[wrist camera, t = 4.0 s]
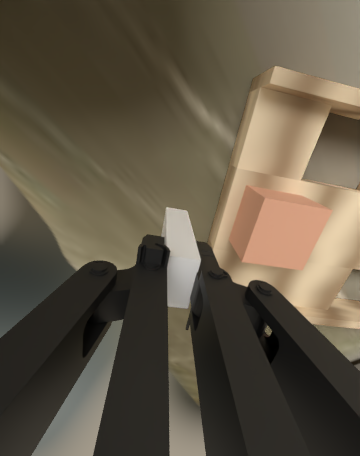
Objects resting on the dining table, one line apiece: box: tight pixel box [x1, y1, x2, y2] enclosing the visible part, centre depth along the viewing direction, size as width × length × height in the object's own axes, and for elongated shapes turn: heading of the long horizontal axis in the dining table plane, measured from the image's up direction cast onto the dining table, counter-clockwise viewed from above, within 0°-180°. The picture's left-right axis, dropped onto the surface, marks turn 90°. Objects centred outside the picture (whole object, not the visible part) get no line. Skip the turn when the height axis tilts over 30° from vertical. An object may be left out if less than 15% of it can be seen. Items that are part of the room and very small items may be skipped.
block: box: [229, 185, 333, 270], centre depth 19 cm, size 6×6×4 cm
